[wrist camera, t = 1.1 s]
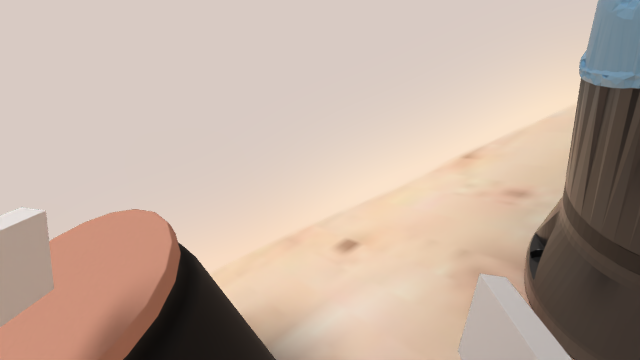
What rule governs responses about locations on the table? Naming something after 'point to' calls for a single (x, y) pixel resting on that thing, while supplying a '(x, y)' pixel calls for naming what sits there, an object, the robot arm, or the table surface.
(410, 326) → the table surface
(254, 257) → the table surface
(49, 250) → the robot arm
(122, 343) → the coffee jar
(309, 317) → the table surface
